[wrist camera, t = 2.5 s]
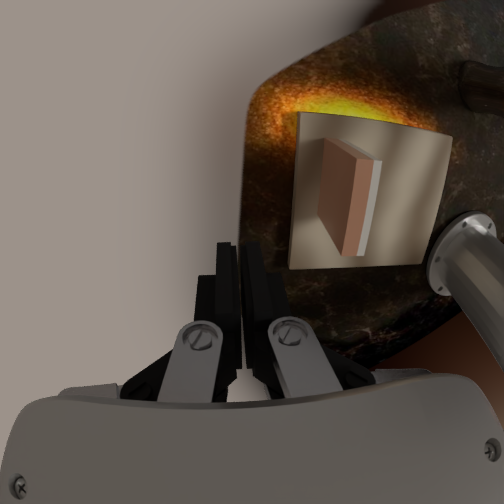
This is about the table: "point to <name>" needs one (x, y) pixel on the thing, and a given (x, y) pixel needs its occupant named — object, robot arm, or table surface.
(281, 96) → the table surface
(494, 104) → the beer glass
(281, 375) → the robot arm
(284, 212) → the table surface
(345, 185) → the tile
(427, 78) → the table surface
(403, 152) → the board
